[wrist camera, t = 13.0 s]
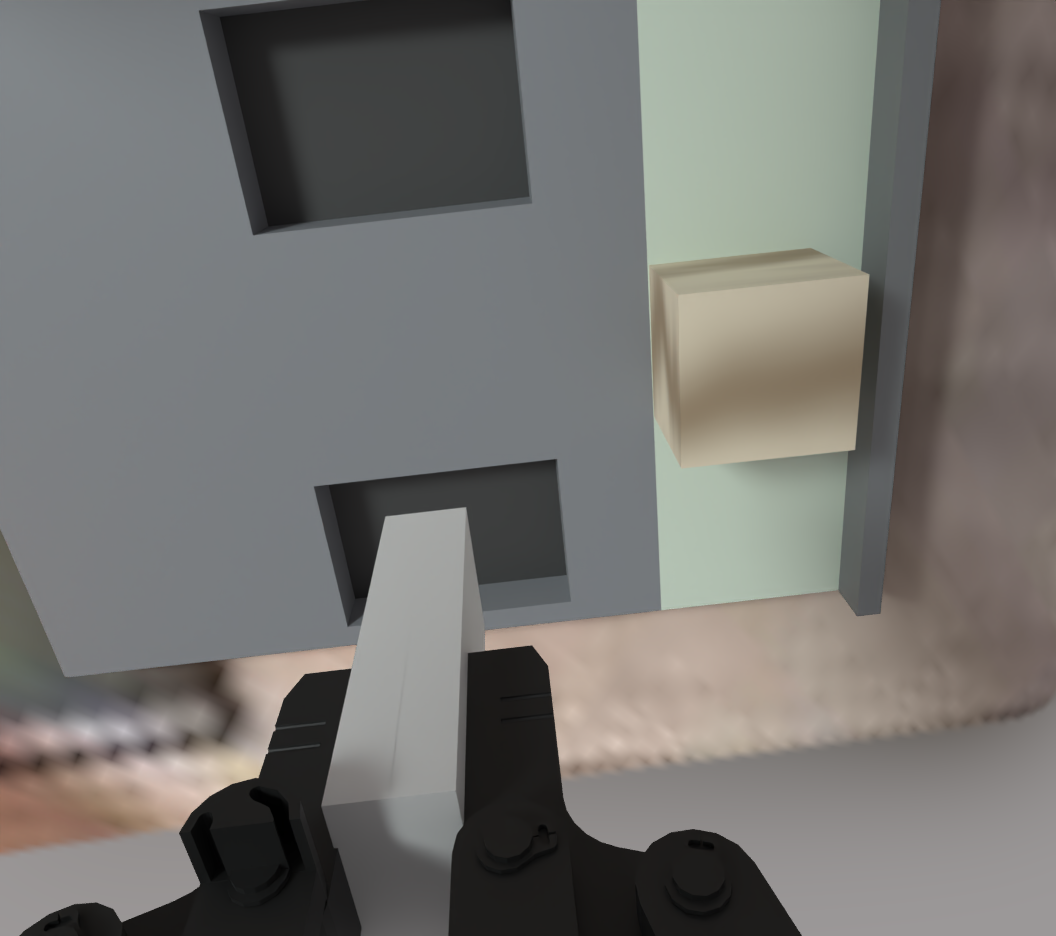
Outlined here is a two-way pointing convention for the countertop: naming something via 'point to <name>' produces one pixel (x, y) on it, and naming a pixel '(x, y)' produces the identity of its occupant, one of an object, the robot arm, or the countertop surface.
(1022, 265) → the countertop surface
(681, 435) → the birch block
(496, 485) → the platform
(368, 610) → the robot arm
